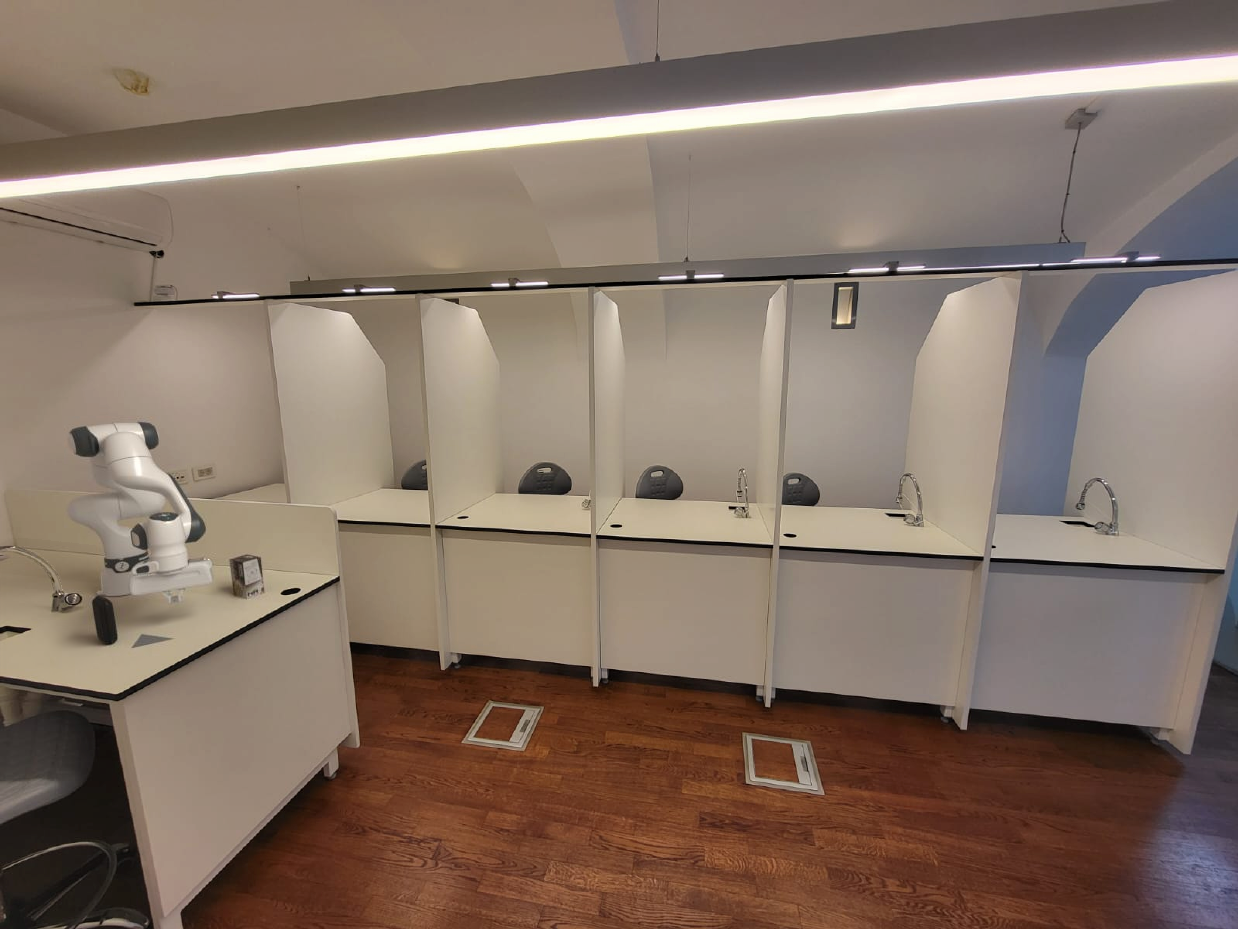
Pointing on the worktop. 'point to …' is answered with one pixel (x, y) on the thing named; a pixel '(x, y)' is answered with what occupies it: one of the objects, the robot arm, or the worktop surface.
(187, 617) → the worktop surface
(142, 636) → the mat
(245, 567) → the coffee box
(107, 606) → the carrying case or bag
